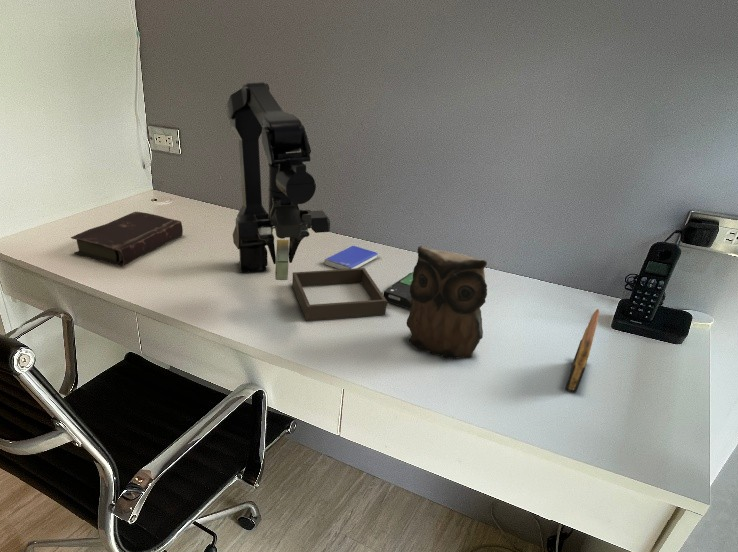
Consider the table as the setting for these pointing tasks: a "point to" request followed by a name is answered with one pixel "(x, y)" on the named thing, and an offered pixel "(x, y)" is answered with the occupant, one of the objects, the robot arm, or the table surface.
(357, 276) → the storage box
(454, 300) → the owl
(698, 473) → the table surface
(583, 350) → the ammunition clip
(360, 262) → the hard drive
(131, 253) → the diary
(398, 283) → the disk drive
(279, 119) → the robot arm
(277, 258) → the medication box
